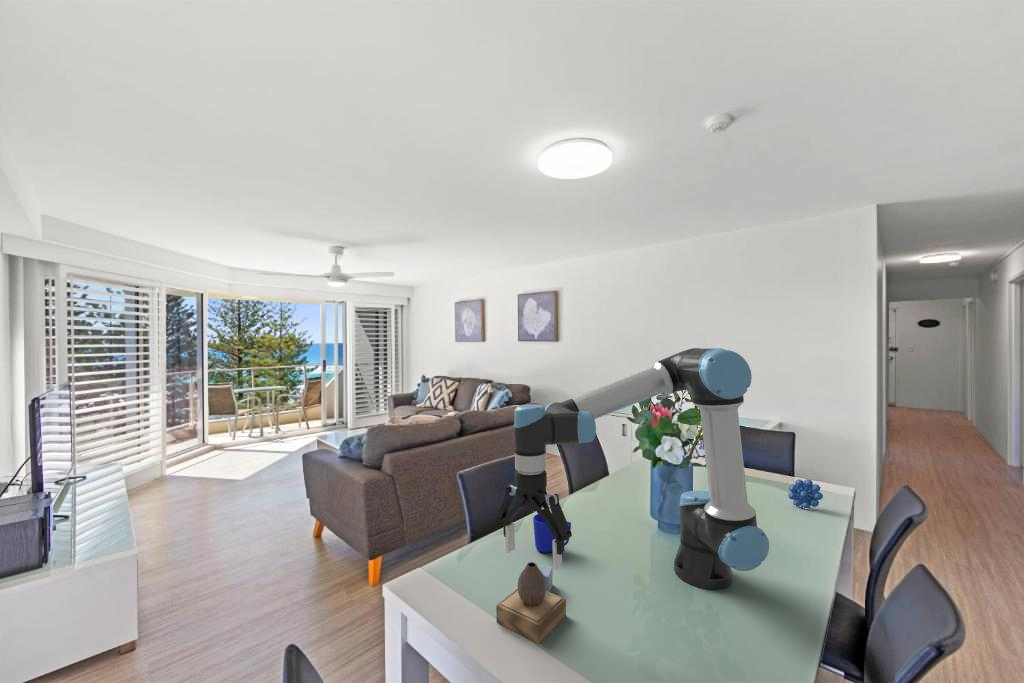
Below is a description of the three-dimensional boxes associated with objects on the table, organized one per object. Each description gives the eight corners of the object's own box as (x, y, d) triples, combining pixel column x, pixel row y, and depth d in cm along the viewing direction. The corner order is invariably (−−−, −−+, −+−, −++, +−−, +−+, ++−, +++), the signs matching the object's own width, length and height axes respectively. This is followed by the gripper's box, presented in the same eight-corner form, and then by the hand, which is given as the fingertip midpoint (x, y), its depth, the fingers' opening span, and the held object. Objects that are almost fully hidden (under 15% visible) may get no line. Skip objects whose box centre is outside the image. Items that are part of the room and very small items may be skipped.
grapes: (826, 510, 167) (826, 479, 167) (821, 515, 162) (820, 483, 162) (791, 502, 176) (791, 472, 176) (786, 506, 171) (786, 476, 171)
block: (552, 585, 117) (552, 566, 117) (548, 595, 112) (548, 576, 112) (534, 582, 118) (534, 564, 118) (530, 592, 114) (530, 573, 114)
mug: (570, 557, 131) (570, 525, 131) (531, 554, 134) (531, 522, 134) (571, 545, 139) (571, 514, 139) (535, 541, 142) (535, 511, 142)
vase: (516, 593, 106) (516, 557, 106) (543, 591, 106) (543, 556, 106) (519, 610, 99) (519, 573, 99) (548, 609, 99) (548, 571, 99)
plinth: (566, 615, 104) (565, 597, 104) (538, 643, 94) (538, 624, 94) (525, 597, 111) (525, 581, 111) (496, 622, 101) (496, 604, 101)
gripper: (585, 474, 98) (587, 567, 98) (500, 458, 113) (502, 538, 113) (568, 484, 92) (571, 582, 92) (481, 465, 107) (483, 550, 107)
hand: (533, 558), depth 103 cm, fingers open, 13 cm apart
